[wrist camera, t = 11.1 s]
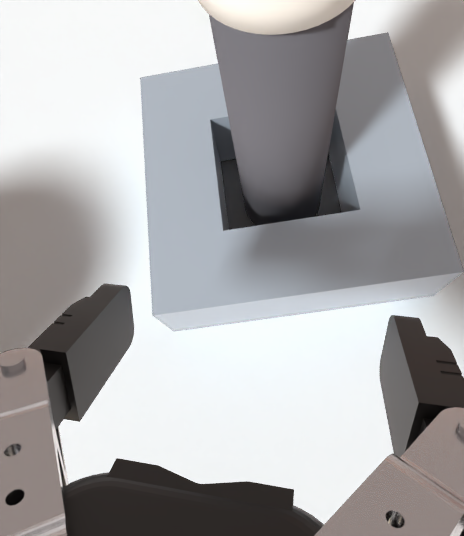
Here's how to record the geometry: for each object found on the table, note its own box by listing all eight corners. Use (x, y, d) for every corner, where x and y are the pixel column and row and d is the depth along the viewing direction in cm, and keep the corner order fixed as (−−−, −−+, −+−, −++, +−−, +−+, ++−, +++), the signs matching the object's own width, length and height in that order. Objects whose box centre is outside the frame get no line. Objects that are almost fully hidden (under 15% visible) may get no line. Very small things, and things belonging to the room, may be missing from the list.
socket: (173, 331, 23) (152, 315, 19) (159, 122, 28) (140, 77, 24) (433, 295, 22) (463, 271, 18) (373, 85, 27) (388, 32, 23)
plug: (245, 246, 24) (190, 9, 10) (235, 171, 26) (176, -121, 12) (332, 232, 24) (403, -32, 10) (316, 158, 26) (357, -160, 11)
